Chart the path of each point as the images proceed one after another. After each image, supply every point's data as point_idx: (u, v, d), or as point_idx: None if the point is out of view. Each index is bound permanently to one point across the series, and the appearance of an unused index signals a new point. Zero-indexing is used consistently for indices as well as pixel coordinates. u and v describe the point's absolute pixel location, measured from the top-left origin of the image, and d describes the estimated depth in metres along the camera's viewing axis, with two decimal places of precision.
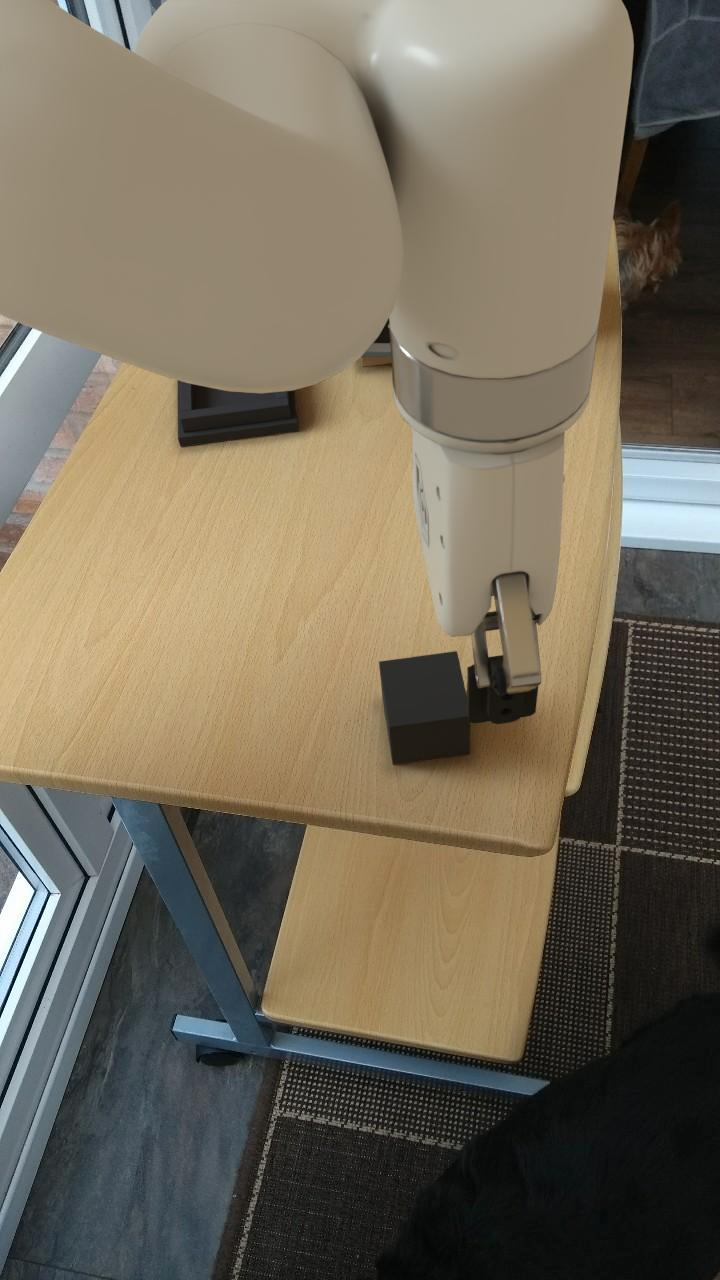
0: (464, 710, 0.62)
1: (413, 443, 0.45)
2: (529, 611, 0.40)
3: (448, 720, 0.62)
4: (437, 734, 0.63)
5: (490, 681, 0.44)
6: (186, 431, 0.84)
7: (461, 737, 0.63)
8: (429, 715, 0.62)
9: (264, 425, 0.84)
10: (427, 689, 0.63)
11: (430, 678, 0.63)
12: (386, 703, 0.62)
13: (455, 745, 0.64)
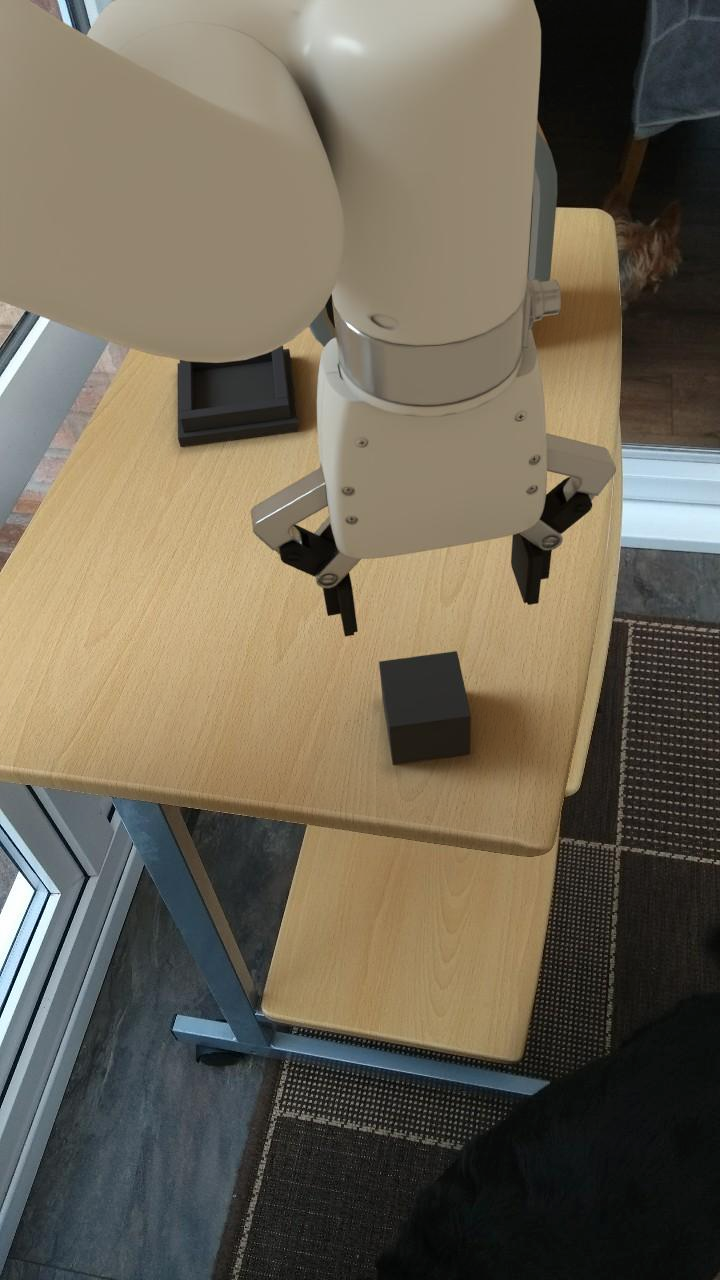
0: (464, 710, 0.62)
1: None
2: (298, 498, 0.46)
3: (448, 720, 0.62)
4: (437, 734, 0.63)
5: None
6: (186, 431, 0.84)
7: (461, 737, 0.63)
8: (429, 715, 0.62)
9: (264, 425, 0.84)
10: (427, 689, 0.63)
11: (430, 678, 0.63)
12: (386, 703, 0.62)
13: (455, 745, 0.64)
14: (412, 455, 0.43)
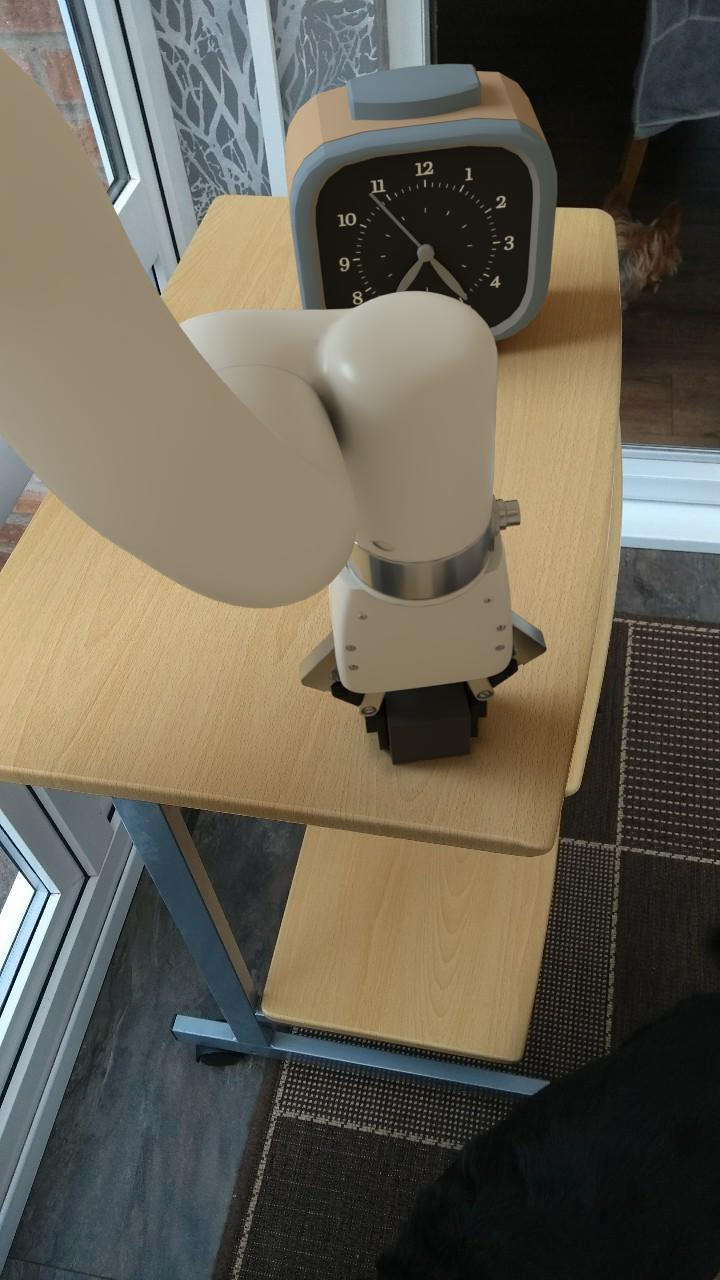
0: (464, 710, 0.62)
1: None
2: (316, 665, 0.59)
3: (448, 720, 0.62)
4: (437, 734, 0.63)
5: None
6: None
7: (461, 737, 0.63)
8: (429, 715, 0.62)
9: None
10: (427, 689, 0.63)
11: None
12: (386, 703, 0.62)
13: (455, 745, 0.64)
14: (401, 626, 0.54)
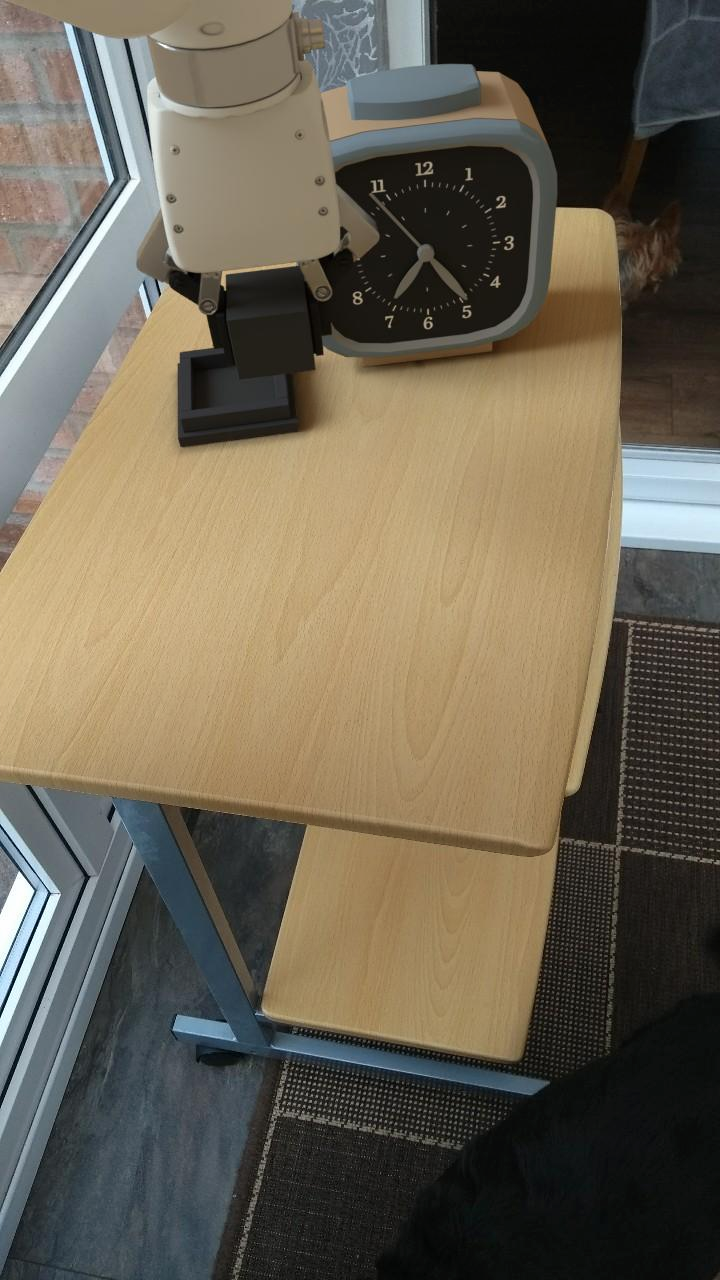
0: (301, 307, 0.63)
1: None
2: (148, 241, 0.60)
3: (285, 314, 0.62)
4: (277, 336, 0.63)
5: None
6: (186, 431, 0.84)
7: (303, 342, 0.64)
8: (267, 311, 0.62)
9: (264, 425, 0.84)
10: (268, 292, 0.64)
11: (273, 285, 0.64)
12: (227, 303, 0.63)
13: (298, 354, 0.65)
14: (216, 164, 0.55)
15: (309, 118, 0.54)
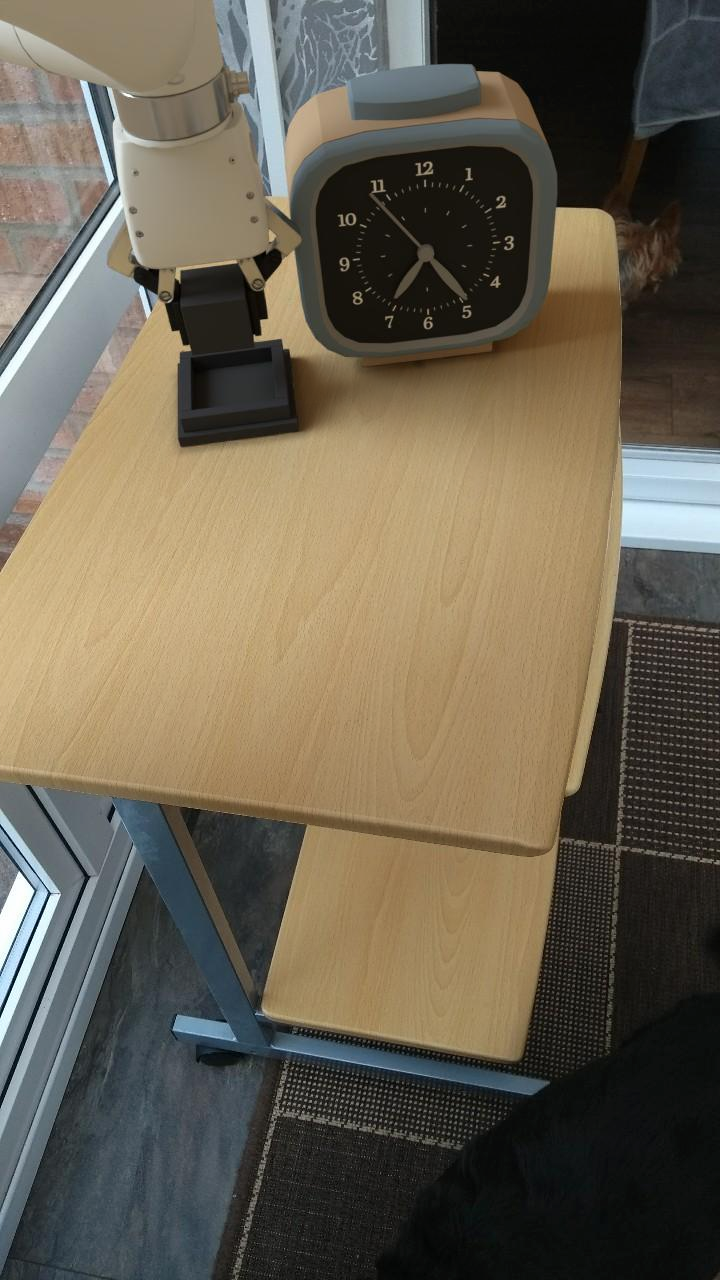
0: (241, 295, 0.78)
1: None
2: (116, 244, 0.75)
3: (227, 302, 0.78)
4: (222, 319, 0.79)
5: None
6: (186, 431, 0.84)
7: (243, 324, 0.79)
8: (213, 299, 0.78)
9: (264, 425, 0.84)
10: (214, 284, 0.79)
11: (218, 278, 0.79)
12: (181, 293, 0.79)
13: (240, 334, 0.80)
14: (167, 183, 0.70)
15: (239, 147, 0.69)
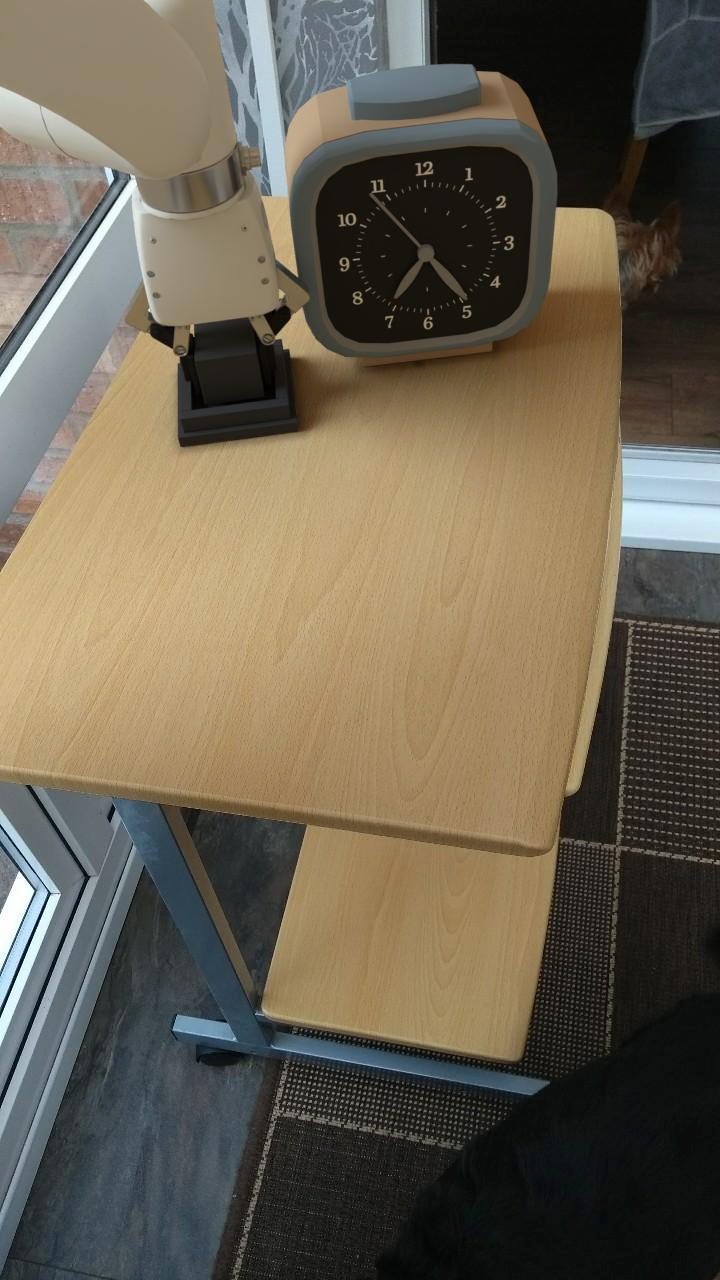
0: (252, 349, 0.82)
1: None
2: (134, 303, 0.79)
3: (239, 356, 0.82)
4: (234, 371, 0.83)
5: None
6: (186, 431, 0.84)
7: (254, 376, 0.83)
8: (225, 353, 0.82)
9: (264, 425, 0.84)
10: (227, 338, 0.83)
11: (230, 332, 0.83)
12: (195, 347, 0.83)
13: (251, 385, 0.84)
14: (183, 250, 0.74)
15: (251, 216, 0.73)
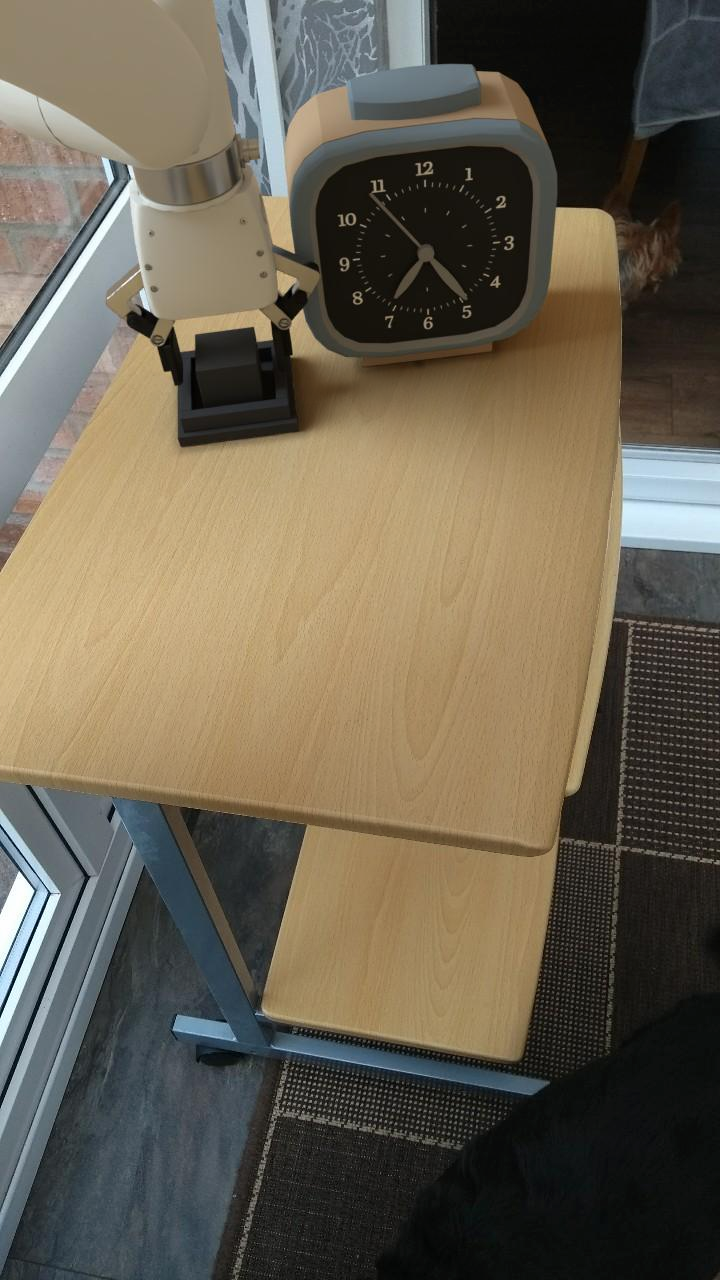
0: (252, 360, 0.82)
1: None
2: (126, 282, 0.78)
3: (240, 366, 0.82)
4: (235, 382, 0.83)
5: None
6: (186, 431, 0.84)
7: (254, 386, 0.84)
8: (226, 364, 0.82)
9: (264, 425, 0.84)
10: (227, 348, 0.84)
11: (231, 343, 0.84)
12: (196, 358, 0.83)
13: (251, 395, 0.85)
14: (181, 243, 0.73)
15: (250, 209, 0.73)
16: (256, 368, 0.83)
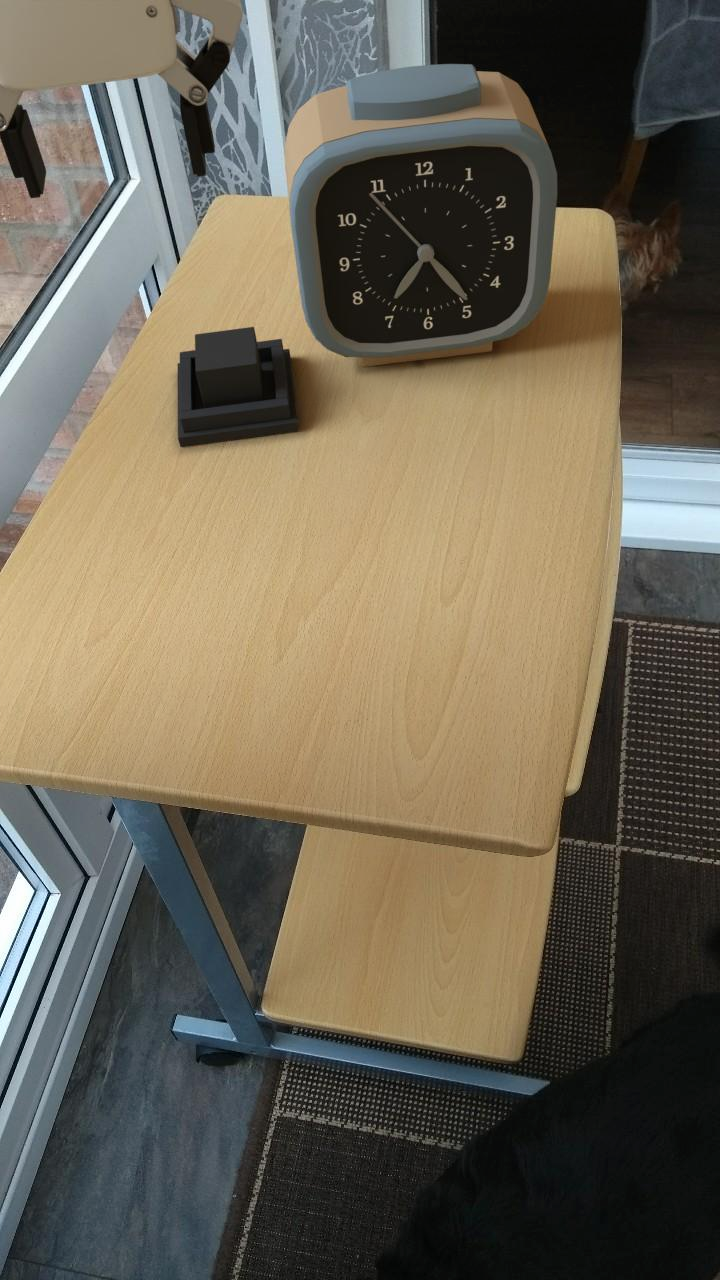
0: (252, 360, 0.82)
1: None
2: None
3: (240, 366, 0.82)
4: (235, 382, 0.83)
5: None
6: (186, 431, 0.84)
7: (254, 386, 0.84)
8: (226, 364, 0.82)
9: (264, 425, 0.84)
10: (227, 348, 0.84)
11: (231, 343, 0.84)
12: (196, 358, 0.83)
13: (251, 395, 0.85)
14: None
15: None
16: (256, 368, 0.83)
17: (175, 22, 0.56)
